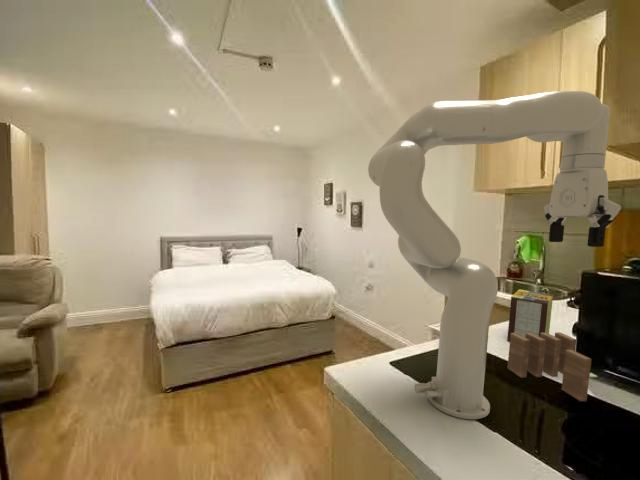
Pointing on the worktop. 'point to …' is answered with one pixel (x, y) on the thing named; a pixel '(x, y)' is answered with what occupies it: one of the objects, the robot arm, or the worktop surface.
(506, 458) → the worktop surface
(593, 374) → the pad
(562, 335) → the domino
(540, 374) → the domino
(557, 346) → the domino
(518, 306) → the protein box
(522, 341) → the domino
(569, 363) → the domino
